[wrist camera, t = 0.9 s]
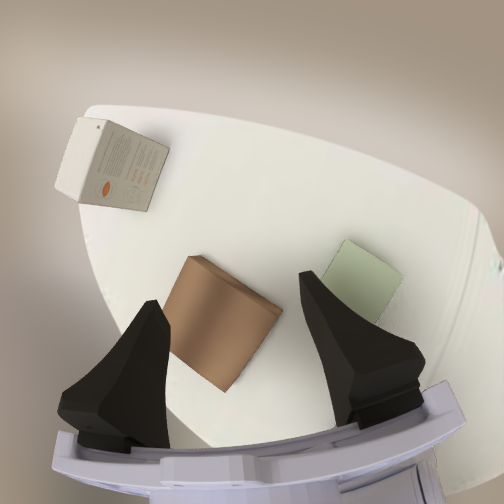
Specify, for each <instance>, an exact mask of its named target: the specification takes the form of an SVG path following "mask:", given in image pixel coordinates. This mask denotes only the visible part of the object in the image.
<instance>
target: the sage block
mask: <svg viewBox="0 0 504 504" xmlns="http://www.w3.org/2000/svg"><path fill="white" fill-rule="evenodd" d="M403 278H404V275H402V274H401V273H399V272H398V271H396V270H395V269H393V268H392V267H390V266H389V265H387V264H386V263H384V262H382V261H381V260H379V259H378V258H376V257H375V256H373V255H372V254H370V253H368V252H367V251H365V250H364V249H362V248H360V247H359V246H357V245H356V244H354V243H352V242H351V241H349V240H347V239H345V240H344V242H343V243H342V245H341V247H340V249H339V250H338V252H337V254H336V255H335V257H334V259H333V261H332V262H331V264H330V266H329V267H328V269H327V271H326V272H325V274H324V275H323V277H322V279H321V280H320V281H321V282H322V283H323V284H324V285H325V286H326V287H327V288H328V289H329V290H330V291H331V292H332V293H333V294H334V295H335V296H336V297H338V298H339V299H340V300H341V301H342V302H343V303H344V304H346V305H347V306H348V307H349V308H350V309H352V310H353V311H354V312H356V313H357V314H358V315H360V316H361V317H363V318H364V319H366V320H367V321H369V322H370V323H372V324H375V322H376V321H377V319H378V318H379V316H380V315H381V313H382V312H383V310H384V309H385V307H386V305H387V304H388V302H389V301H390V299H391V298H392V296H393V294H394V293H395V291H396V289H397V288H398V286H399V284H400V283H401V281H402V279H403Z"/></svg>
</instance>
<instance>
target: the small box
mask: <svg viewBox="0 0 504 504" xmlns="http://www.w3.org/2000/svg"><path fill="white" fill-rule="evenodd" d="M168 151H169V148H167V147H165V146H163V145H161V144H159V143H157V142H155V141H153V140H150V139H148V138H146V137H144V136H142V135H140V134H138V133H136V132H134V131H132V130H129V129H127V128H125V127H123V126H121V125H119V124H116V123H114V122H112V121H110V120H104V119H95V118H86V117H79V118H78V120H77V122H76V125H75V127H74V130H73V132H72V135H71V137H70V140H69V143H68V145H67V148H66V151H65V154H64V158H63V160H62V163H61V166H60V169H59V173H58V176H57V180H56V183H55V187H54V188H55V189H56V190H58V191H60V192H61V193H63V194H64V195H66V196H68V197H69V198H71V199H72V200H74V201H76V202H77V203H81V204H90V205H98V206H106V207H113V208H121V209H129V210H136V211H144V212H146V211H147V209H148V205H149V202H150V199H151V196H152V194H153V191H154V188H155V185H156V182H157V180H158V177H159V174H160V172H161V169H162V166H163V164H164V161H165V159H166V156H167V154H168Z"/></svg>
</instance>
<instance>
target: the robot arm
mask: <svg viewBox="0 0 504 504" xmlns="http://www.w3.org/2000/svg"><path fill="white" fill-rule="evenodd" d="M299 283H300V295H301V304H302V308H303V312H304V316H305V319H306V322H307V325H308V327H309V330H310V332H311V335H312V337H313V340H314V343H315V345H316V348H317V350H318V353H319V355H320V358H321V361H322V365H323V368H324V372H325V376H326V380H327V384H328V388H329V392H330V397H331V401H332V405H333V410H334V415H335V420H336V426H335V427H334V428H333V429H330V430H327V431H323V432H318V433H314V434H310V435H305V436H301V437H296V438H291V439H285V440H280V441H273V442H267V443H260V444H252V445H244V446H233V447H221V448H201V449H170V443H169V436H168V429H167V419H166V401H165V385H166V375H167V367H168V360H169V352H170V345H171V326H170V324H169V322H168V320H167V318H166V316H165V315H164V313H163V311H162V309H161V307H160V305H159V303H158V301H157V300H151V301H146V302H145V303H144V305H143V306H142V308H141V309H140V310H139V312H138V313H137V315H136V316H135V318H134V319H133V321H132V322H131V324H130V325H129V327H128V328H127V329H126V331H125V332H124V334H123V335H122V336H121V338H120V339H119V340H118V342H117V343H116V344H115V346H114V347H113V348H112V349H111V350H110V352H109V353H108V354H107V355H106V356H105V357H104V358H103V359H102V361H100V362H99V363H98V364H97V365H96V366H95V367H94V368H93V369H92V370H91V371H90V372H89V373H88V374H87V375H85V377H83V378H82V379H81V380H79V381H78V382H77V383H75V384H74V385H73V386H71V387H70V388H68V389H67V390H65V391H64V392H63V393H62V396H61V400H60V403H59V407H58V411H57V412H58V415H59V416H60V417H61V418H62V419H63V420H64V421H66V422H67V423H69V424H70V425H72V426H73V427H74V428H76V429H77V430H79V434H78V435H76V434H73V433H70V432H65V431H59V432H58V436H57V441H56V446H55V451H54V457H53V462H52V469H53V470H55V471H57V472H59V473H62V474H64V475H66V476H68V477H71V478H73V479H75V480H78V481H80V482H83V483H87V484H90V485H94V486H98V487H101V488H106V489H109V490H114V491H118V492H123V493H127V494H132V495H137V496H143V497H149V498H150V504H446V501H445V496H444V492H443V489H442V486H441V482H440V479H439V476H438V474H437V471H436V465H437V460H436V456H435V453H434V450H433V446H435V445H437V444H439V443H440V442H442V441H444V440H445V439H447V438H448V437H449V436H451V435H452V434H453V433H455V432H456V431H457V430H458V429H460V428H461V427H462V426H463V425H465V424H466V422H467V421H466V419H465V417H464V414H463V412H462V410H461V408H460V406H459V404H458V402H457V399H456V397H455V395H454V393H453V391H452V389H451V387H450V385H449V383H448V382H447V380H444V381H442V382H440V383H438V384H436V385H434V386H432V387H430V388H428V389H426V390H424V391H423V392H422V393H421V392H420V390H419V387H420V383H419V381H418V377H419V375H420V374H421V372H422V370H423V368H424V366H425V359H424V357H423V355H422V353H421V351H420V350H419V349H418V347H417V346H416V345H415V343H414V342H411V341H408V340H405V339H403V338H400V337H398V336H395V335H393V334H391V333H389V332H387V331H385V330H383V329H381V328H379V327H377V326H376V325H374V324H372V323H370V322H369V321H367V320H366V319H364V318H363V317H361V316H360V315H358V314H357V313H356V312H354V311H353V310H352V309H350V308H349V307H348V306H347V305H346V304H344V303H343V302H342V301H341V300H340V299H339V298H338V297H336V296H335V295H334V294H333V293H332V292H331V291H330V290H329V289H328V288H327V287H326V286H325V285H324V284H323V283H322V282H321V281H320V279H319V278H318V277H317V276H316V275H315V274H314V272H312V271H306V272H301V273H299Z"/></svg>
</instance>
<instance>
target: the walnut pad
mask: <svg viewBox="0 0 504 504" xmlns="http://www.w3.org/2000/svg"><path fill="white" fill-rule="evenodd" d="M162 311H163V313H164V315H165V316H166V318H167V320H168V322H169V324H170V326H171V345H170V352H172V353H173V354H174V355H175V356H177V357H178V358H179V359H180V360H182V361H183V362H184V363H185V364H187V365H188V366H189V367H191V368H192V369H193V370H194V371H196V372H197V373H198V374H200V375H201V376H202V377H204V378H205V379H206V380H208V381H209V382H211V383H212V384H213V385H215V386H216V387H218V388H219V389H220V390H222V391H223V392H226V391H227V390H228V389H229V388H230V387H231V385H232V384H233V383H234V382H235V380H236V379H237V378H238V376H239V375H240V373H241V372H242V371H243V369H244V368H245V366H246V365H247V363H248V362H249V360H250V359H251V358H252V356H253V355H254V353H255V352H256V350H257V349H258V347H259V346H260V344H261V343H262V341H263V340H264V338H265V337H266V335H267V334H268V332H269V331H270V329H271V328H272V326H273V325H274V323H275V322H276V320H277V319H278V317H279V316H280V314H281V312H282V311H283V310H282V309H280V308H279V307H277V306H276V305H274V304H273V303H271V302H270V301H268V300H267V299H265V298H264V297H262V296H260V295H259V294H257V293H256V292H254V291H253V290H251V289H250V288H248V287H247V286H245V285H244V284H242V283H241V282H239V281H238V280H236V279H235V278H233V277H232V276H230V275H229V274H227V273H226V272H224V271H223V270H221V269H220V268H219V267H217V266H216V265H214V264H213V263H211V262H210V261H208V260H207V259H205V258H204V257H202V256H201V255H199V256H188V258H187V260H186V262H185V264H184V266H183V268H182V270H181V272H180V274H179V276H178V278H177V280H176V282H175V284H174V286H173V288H172V290H171V293H170V295H169V297H168V299H167V301H166V303H165V305H164V308H163V310H162Z"/></svg>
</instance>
